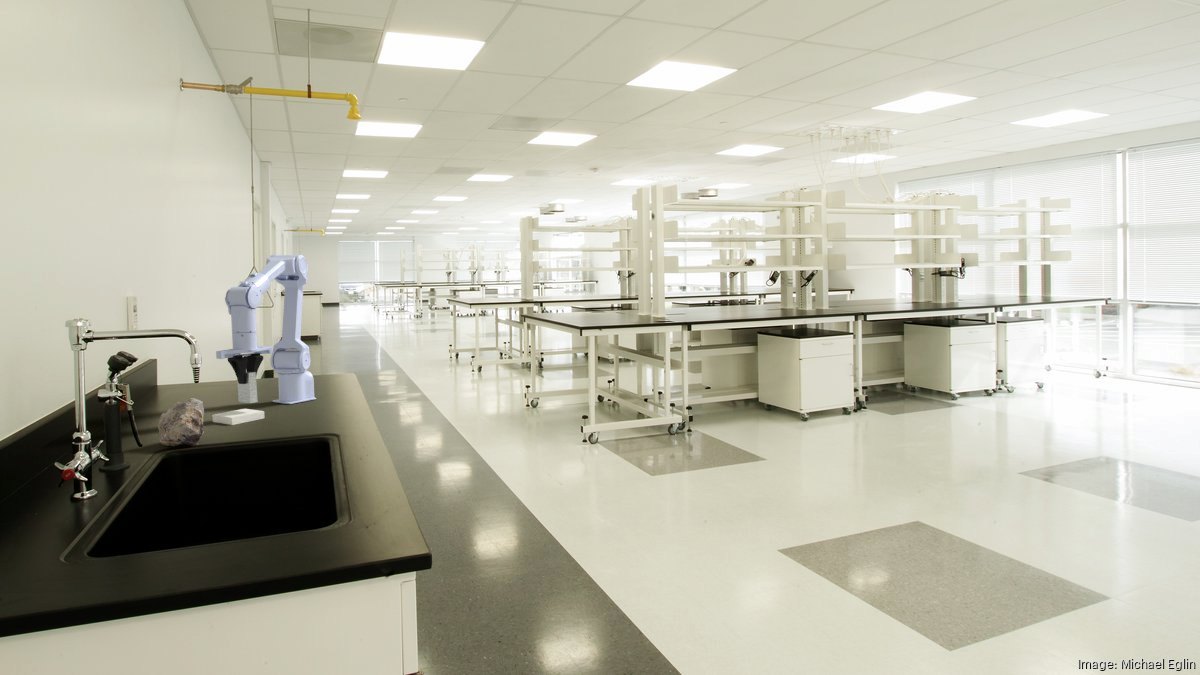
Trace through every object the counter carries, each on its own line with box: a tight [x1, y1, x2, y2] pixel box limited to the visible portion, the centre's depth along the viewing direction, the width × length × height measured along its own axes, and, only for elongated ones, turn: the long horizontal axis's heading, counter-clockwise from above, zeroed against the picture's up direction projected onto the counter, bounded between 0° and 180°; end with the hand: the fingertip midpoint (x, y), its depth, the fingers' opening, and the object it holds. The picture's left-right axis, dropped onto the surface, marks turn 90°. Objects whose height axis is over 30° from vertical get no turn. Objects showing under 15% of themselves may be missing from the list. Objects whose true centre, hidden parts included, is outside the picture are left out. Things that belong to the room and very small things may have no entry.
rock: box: [157, 397, 205, 447], centre depth 146 cm, size 9×12×10 cm
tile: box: [211, 408, 265, 426], centre depth 170 cm, size 2×8×9 cm
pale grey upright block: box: [236, 371, 259, 404], centre depth 172 cm, size 2×5×8 cm, turn 63°
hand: (246, 383), depth 172 cm, fingers closed on pale grey upright block, 2 cm apart
